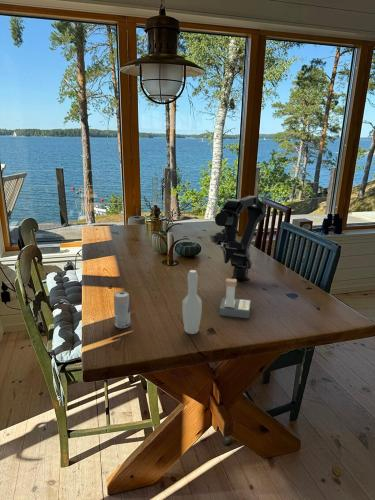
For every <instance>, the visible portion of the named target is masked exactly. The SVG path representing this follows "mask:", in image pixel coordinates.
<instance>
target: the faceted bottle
mask: <svg viewBox="0 0 375 500" xmlns="http://www.w3.org/2000/svg"><path fill="white" fill-rule="evenodd" d="M186 277H187V278H186V279H187V295H186V296H185V297H184V298H183V300H182V302H181V303H182V306H181V307H182V309H181V312H182V320H183V326H184V327H183V329H184V332H186V334H190V335H194V334H198V332H199V330H200V324H201V320H202V319H201V318H202V317H201V316H202V312H203V311H202V310H203V305H202V304H203V301H202V299H201V297H200V296H199V294H198V281H199V276H198V271H197V270H195V269H194V270H193V269H190V270H189V272H188V274H187V276H186Z"/></svg>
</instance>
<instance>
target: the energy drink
mask: <svg viewBox="0 0 375 500" xmlns="http://www.w3.org/2000/svg"><path fill="white" fill-rule="evenodd" d="M130 307H131V306H130V294H129V292H127V291H124V290H123V291H121V290H120V291H117V292H115V293H114V294H113V308H114V326H115V327H116V328H118V329H126V328H129V326H131V308H130Z"/></svg>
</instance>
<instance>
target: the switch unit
mask: <svg viewBox="0 0 375 500" xmlns="http://www.w3.org/2000/svg"><path fill="white" fill-rule="evenodd" d="M225 300H226V297H222V299H221V301H220V305H219V313H218V314H219V316H224V317H233V318H241V319H242V318H243V319H250V314H251V312H250V311H251V301H252V300H251V299H240V298H234V300H235V307H234V308H232V307H224V304H225Z"/></svg>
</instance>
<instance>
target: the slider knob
mask: <svg viewBox="0 0 375 500" xmlns="http://www.w3.org/2000/svg"><path fill="white" fill-rule="evenodd" d="M237 282H238V281H237V279H233V278H228V277H227V278H226V279H225V287H226V292H225V298H226V300H225V304H224V307H232V308H234V307H235V300H234V299H236V298H235V295H236V294H235V293H236V288H237Z"/></svg>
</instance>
